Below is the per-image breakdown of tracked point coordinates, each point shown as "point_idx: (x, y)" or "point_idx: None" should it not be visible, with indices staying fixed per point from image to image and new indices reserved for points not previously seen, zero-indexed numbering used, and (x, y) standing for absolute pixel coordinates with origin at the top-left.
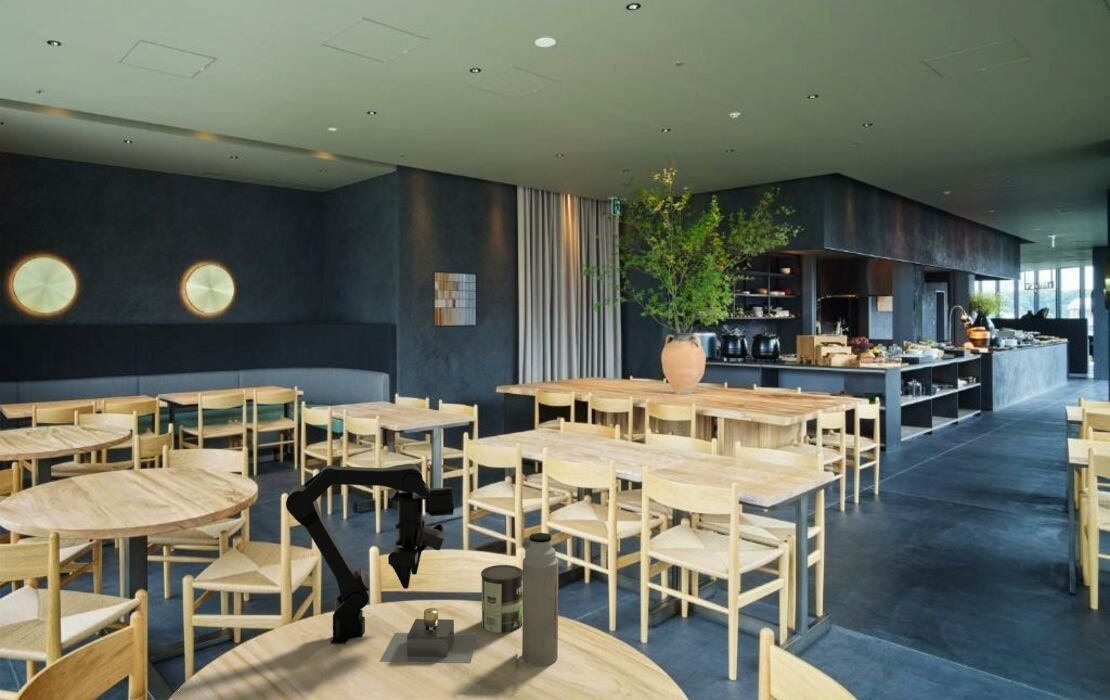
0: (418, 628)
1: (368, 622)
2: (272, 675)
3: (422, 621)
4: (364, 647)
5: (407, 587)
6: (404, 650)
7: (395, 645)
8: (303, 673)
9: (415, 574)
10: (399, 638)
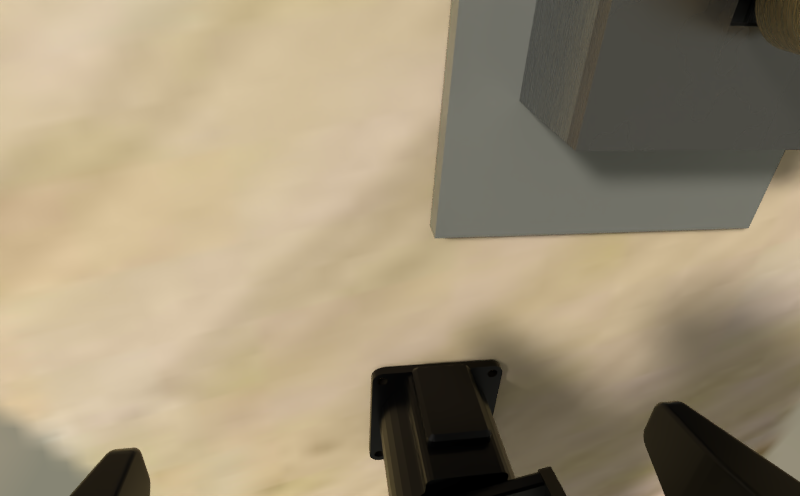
0: (766, 89)
1: (253, 385)
2: None
3: (642, 81)
4: (529, 324)
5: (689, 414)
6: None
7: (596, 197)
8: None
9: (139, 451)
10: (509, 197)
